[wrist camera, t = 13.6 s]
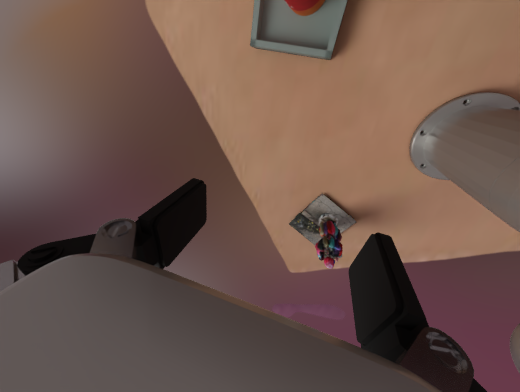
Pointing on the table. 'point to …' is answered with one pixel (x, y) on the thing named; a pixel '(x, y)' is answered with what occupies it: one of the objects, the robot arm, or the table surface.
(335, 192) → the table surface
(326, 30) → the tray
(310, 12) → the paper cup
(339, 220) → the statue
